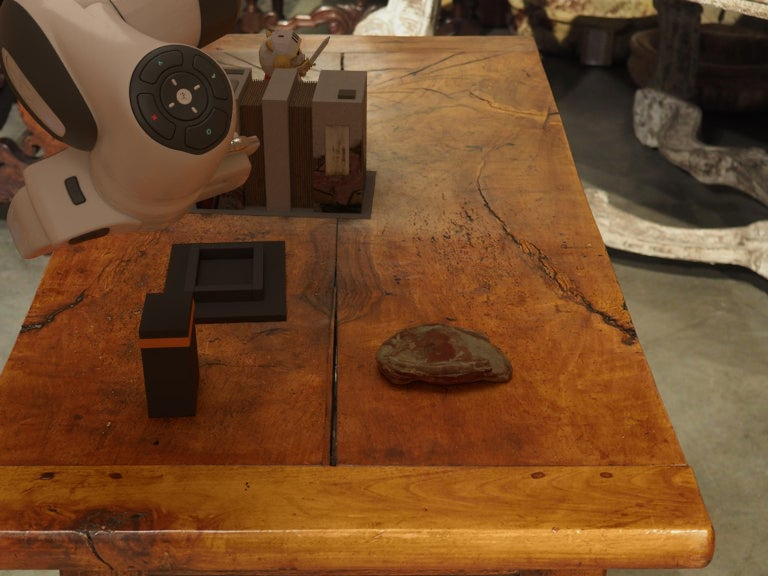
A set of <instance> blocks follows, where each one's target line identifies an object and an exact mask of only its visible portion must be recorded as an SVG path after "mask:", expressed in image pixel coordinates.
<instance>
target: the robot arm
mask: <svg viewBox="0 0 768 576" xmlns="http://www.w3.org/2000/svg"><path fill="white" fill-rule="evenodd" d="M242 4H243V0H3V1H2V2H1V5H0V68H1V71H2V73H3V76H4V79H5V80H6V83H7V84H8V86H9V88H10V91H12V93H13V95H14V96H15V98H16V99H17V101H18V102H19V103H20V105H21V106H22V107H23V109H24V110H25V111H26V112H27V114H28V115H29V116H30V117H31V118H32V119H33V120H34V121H35V122H36V124H38V125H39V127H41V129H43V130H44V131H45V132H46V133H47V134H48V135H50V136H51V137H52V138H53V139H55V140H57V141H58V142H59V143H63V144H64V145H66V146H68V147H66V148H64V149H61V150H59V151H58V152H55V153H53V154H51V155H49V156H47V157H43V158H42V159H40V160H38V161H36V162H34V163H32V164H29V165H28V166H27V167H25V168H24V169H23V171H22V178H23V183H24V186H22V187H21V188H19V189H18V190H17V192H16V193H14V196H13V197H12V199H11V202H10V203H9V206H8V210H7V214H6V225H7V228H8V232H9V234H10V236H11V238H12V241H13V243H14V246H15V248H16V250H17V252H18V254H19V256H20V257H21V258H22V259H23V260H33V259H36V258H38V257H42V256H44V255H47V254H50V253H53V252H55V251H59V250H61V249H64V248H70V247H73V246H76V245H78V244H79V245H80V244H81V243H84V242H88V241H91V240H96V239H100V238H103V237H107V236H116V235H126V234H127V235H128V234H133V233H136V232H137V233H138V232H142V233H151V232H157V231H160V230H161V231H162V230H165V229H168V228H170V227H172V226H174V225H175V224H177V223H178V222H180V221H181V220H182V219H184V217H185V216H186V215H187V214H189V213H188V211H189V210H190V209H191V207H192V206H193V204H194V203H196V202H199V201H202V200H205V199H208V198H211V197H214V196H217V195H219V194H222V193H225V192H228V191H231V190H234V189H236V188H238V187H239V186H241V185H242V184H244V183H245V181H246V180H247V178H248V176H249V174H250V171H251V163H250V161H249V158H248V156H249V155H251V154H253V153H254V152H255V151H256V150H257V148H258V147H259V146H260V143H259V142H260V141H259V139H258V138H257V136H252V137H249V138H247V137H246V136H238V134H237V133H236V132H235V128H236V101H235V95H234V91H233V87H232V84H231V82H230V80H229V77H228V76H227V74H226V72H225V71H224V69H223V68H222V67H223V66H222V65H221V64H220V63H219V62H218V61H217V60H216V59H215V58H214V57H213V56H211V55H210V54H208V53H207V52H206V51H204V50H203V48H205V47H207V46H209V45H210V44H212V43H214V42H217V41H218V40H219V39H221V38H223V37H225V36H226V35H229V34H231V33H232V32H233V31H234V29H235V27H236V25H237V22H238V20H239V16H240V13H241V9H242V6H243V5H242Z"/></svg>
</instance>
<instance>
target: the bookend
mask: <svg viewBox="0 0 768 576" xmlns="http://www.w3.org/2000/svg"><path fill="white" fill-rule="evenodd" d="M221 67H222V68H223V69H224V71H225V72H226V74H227V76H228V77H229V80H230V82H231V84H232V87H233V91H234V95H235V101H236V128H235V132H236V133H237V134H238V136H246V137H247V138H249V137H252V136H257V138H258V139H259V141H260V142H259V143H260V146H259V147H258V148H257V150H256V151H255V152H254V153H253V154H251V155H249V156H248V158H249V161H250V163H251V171H250V174H249V176H248V178H247V180H246V181H245V183H244V184H242V185H241V186H239V187H238V188H236V189H234V190H231V191H228V192H225V193H222V194H219V195H217V196H214V197H211V198H208V199H205V200H202V201H199V202H196V203H194V204H193V206H192V207H191V209H190V210H189V211H188V213H187V214H208V215H237V216H239V215H240V216H263V217H265V216H269V217H295V218H296V217H297V218H298V217H299V218H300V217H301V218H324V219H325V218H326V219H330V218H331V219H354V220H355V219H356V220H357V219H360V220H371V219H372V215H373V214H372V213H373V206H374V195H375V189H376V179H377V170H367V159H368V158H367V154H368V153H367V151H368V150H367V147H368V146H367V144H368V143H367V142H368V141H367V140H368V137H367V136H368V132H367V131H368V71H367V70H347V69H345V70H344V69H320V71H319V75H318V78H317V80H303V81H302V83H301V81H300V82H299V81H298V69H281V68H275V69H274V71H273V74H272V76H271V79H270V80H269V82H268V80H267V81H266V80H265V81H264V79H261V78H260V79H255V78H254V79H253V71H252V67H241V66H240V67H237V66H221Z"/></svg>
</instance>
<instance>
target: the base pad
mask: <svg viewBox="0 0 768 576" xmlns="http://www.w3.org/2000/svg"><path fill="white" fill-rule="evenodd" d="M169 254H170V255H169V259H168V260H169V261H168V264H167V265H168V266H167V271H166V276H165V283H164V289H163V293H167V292H193V299H194V315H195V325H196V324H222V323H224V324H225V323H251V322H253V323H254V322H281V321H283V322H284V321H287V281H286V279H287V278H286V277H287V275H286V241H285V240H257V241H255V240H254V241H253V240H252V241H223V242H221V241H217V242H184V243H172V244H171V249H170V253H169Z"/></svg>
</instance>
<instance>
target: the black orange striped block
mask: <svg viewBox="0 0 768 576" xmlns="http://www.w3.org/2000/svg"><path fill="white" fill-rule="evenodd" d="M196 328H197V327H196V324H195V315H194V299H193V292H167V293H164V292H146V294H145V296H144V303H143V308H142V312H141V317H140V322H139V326H138V343H139V344H138V345H139V348H140V355H141V364H142V373H143V381H144V389H145V398H146V406H147V413H148V414H147V416H148V419H155V418H181V417H183V418H184V417H195V416H196V415H197V414H196V413H197V404H198V396H199V386H200V377H201V376H200V363H199V351H198V339H197V329H196Z"/></svg>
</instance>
